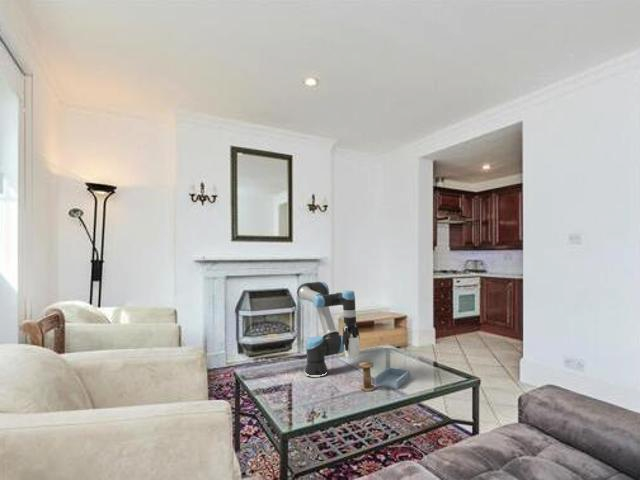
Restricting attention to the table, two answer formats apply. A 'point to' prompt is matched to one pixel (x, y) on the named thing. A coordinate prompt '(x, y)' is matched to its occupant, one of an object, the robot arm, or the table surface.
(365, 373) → the bobbin post
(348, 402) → the table surface
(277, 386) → the table surface
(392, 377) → the blue grey tray
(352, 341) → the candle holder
